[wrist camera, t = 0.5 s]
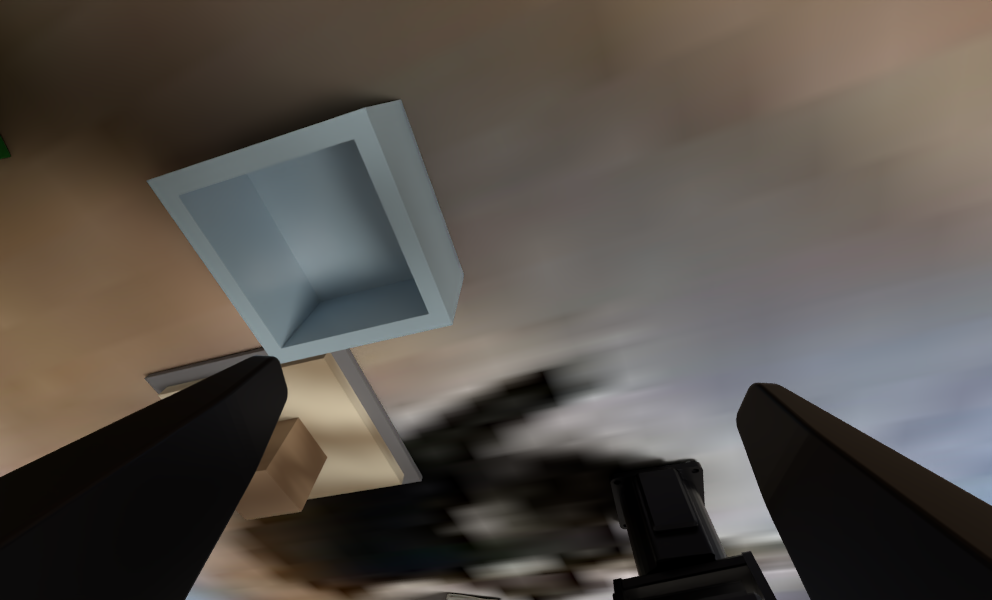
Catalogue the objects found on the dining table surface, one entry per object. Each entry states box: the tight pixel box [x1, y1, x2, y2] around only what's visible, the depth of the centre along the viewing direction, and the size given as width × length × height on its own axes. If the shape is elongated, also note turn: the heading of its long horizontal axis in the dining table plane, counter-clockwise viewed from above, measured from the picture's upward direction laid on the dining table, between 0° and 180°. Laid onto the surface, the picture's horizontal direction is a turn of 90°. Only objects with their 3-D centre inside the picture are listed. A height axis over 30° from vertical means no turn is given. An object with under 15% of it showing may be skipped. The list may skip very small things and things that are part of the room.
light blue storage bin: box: [147, 100, 464, 364], centre depth 18 cm, size 9×9×5 cm
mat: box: [144, 348, 422, 484], centre depth 28 cm, size 14×14×1 cm
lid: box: [158, 353, 404, 520], centre depth 26 cm, size 12×12×5 cm
